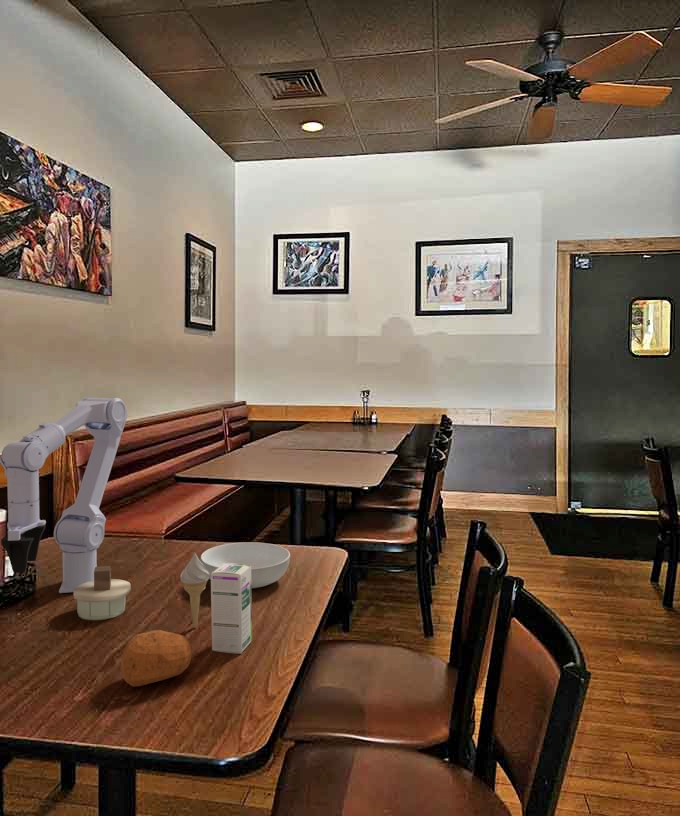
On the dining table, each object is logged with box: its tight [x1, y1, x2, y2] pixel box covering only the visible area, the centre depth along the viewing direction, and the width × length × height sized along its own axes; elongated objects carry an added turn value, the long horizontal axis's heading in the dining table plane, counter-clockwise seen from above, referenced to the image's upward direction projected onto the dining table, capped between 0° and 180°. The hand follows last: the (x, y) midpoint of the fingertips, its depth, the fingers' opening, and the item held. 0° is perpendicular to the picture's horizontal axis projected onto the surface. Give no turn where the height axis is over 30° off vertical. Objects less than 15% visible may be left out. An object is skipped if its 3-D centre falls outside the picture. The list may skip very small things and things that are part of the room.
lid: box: [73, 565, 132, 602], centre depth 132 cm, size 11×11×5 cm
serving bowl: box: [199, 541, 291, 589], centre depth 151 cm, size 21×21×7 cm
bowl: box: [76, 596, 126, 621], centre depth 132 cm, size 9×9×4 cm
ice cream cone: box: [179, 551, 210, 629], centre depth 125 cm, size 6×6×15 cm
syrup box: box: [210, 563, 253, 655], centre depth 117 cm, size 6×6×14 cm
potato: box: [120, 629, 193, 687], centre depth 105 cm, size 9×11×8 cm
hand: (24, 566), depth 132 cm, fingers open, 7 cm apart
